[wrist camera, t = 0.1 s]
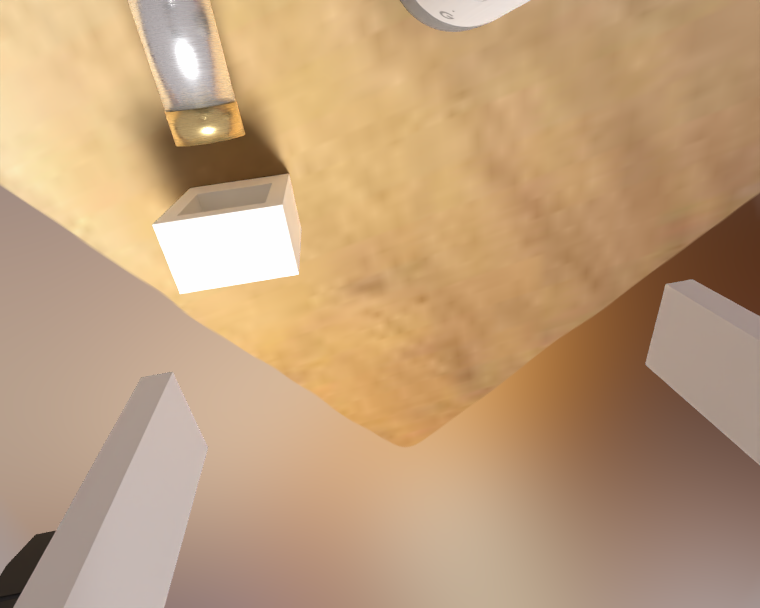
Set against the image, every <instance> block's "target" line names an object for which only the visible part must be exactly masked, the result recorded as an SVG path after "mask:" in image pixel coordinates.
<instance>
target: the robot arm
mask: <svg viewBox="0 0 760 608" xmlns="http://www.w3.org/2000/svg"><path fill="white" fill-rule="evenodd" d="M645 364H646V365H647V366H648V367H649V368H650V369H651V370H652V371H653V372H654V373H656V374H657V375H658V376H659V377H660V378H661V379H663V380H664V381H665V382H666V383H667V384H668V385H669V386H670V387H672V388H673V389H674V390H675V391H676V392H677V393H679V395H681V396H682V397H683V398H684V399H685V400H686V401H687V402H689V403H690V404H691V405H692V406H693V407H694V408H695V409H696V410H698V411H699V412H700V413H701V414H702V415H703V416H705V417H706V418H707V419H708V420H709V421H710V422H711V423H713V424H714V425H715V426H716V427H717V428H718V429H719V430H720V431H721V432H723V433H724V434H725V435H726V436H727V437H728V438H729V439H731V440H732V441H733V442H734V443H735V444H736V445H738V446H739V447H740V448H741V449H742V450H743V451H744V452H745V453H747V454H748V455H749V456H750V457H751V458H752V459H753V460H754V461H756V462H757V463H758V464H759V465H760V316H758V315H756V314H754V313H753V312H751V311H749V310H747V309H745V308H743V307H742V306H740V305H738V304H736V303H734V302H732V301H731V300H729V299H727V298H725V297H723V296H721V295H720V294H718V293H716V292H714V291H712V290H711V289H709V288H707V287H705V286H703V285H701V284H700V283H697V282H696V281H694V280H687V281H681V282H675V283H670V284H666V285H665V289H664V293H663V297H662V301H661V305H660V309H659V313H658V317H657V321H656V324H655V328H654V332H653V336H652V340H651V344H650V348H649V352H648V356H647V360H646V363H645ZM207 449H208V447H207V445H206V442H205V440H204V438H203V436H202V434H201V432H200V430H199V427H198V425H197V423H196V421H195V419H194V417H193V415H192V413H191V410H190V408H189V406H188V404H187V402H186V399H185V397H184V395H183V393H182V391H181V389H180V387H179V385H178V382H177V380H176V378H175V376H174V374H173V372H168V373H163V374H157V375H152V376H146V377H141V379H140V381H139V382H138V384H137V386H136V388H135V390H134V391H133V393H132V395H131V397H130V399H129V401H128V402H127V404H126V406H125V408H124V409H123V411H122V413H121V415H120V417H119V419H118V420H117V422H116V424H115V426H114V427H113V429H112V431H111V433H110V435H109V436H108V438H107V440H106V442H105V444H104V445H103V447H102V449H101V451H100V453H99V454H98V456H97V458H96V460H95V462H94V463H93V465H92V467H91V469H90V471H89V472H88V474H87V476H86V478H85V480H84V481H83V483H82V485H81V487H80V489H79V490H78V492H77V494H76V496H75V498H74V499H73V501H72V503H71V505H70V507H69V508H68V510H67V512H66V514H65V516H64V518H63V519H62V521H61V523H60V525H59V527H58V528H57V530H56V531H52V532H47V533H42V534H36V535H35V536H34V537H33V538H32V539H31V540H30V541H29V542H28V543H27V545H26V546H25V547H24V548H23V549H22V550H21V551H20V552H19V553H18V554H17V555H16V556H15V557H14V558H13V559H12V560H11V562H9V564H8V565H7V566H6V567H5V569H4V571H3V572H2V574H1V576H0V608H164V606H165V602H166V598H167V595H168V591H169V588H170V584H171V580H172V577H173V573H174V569H175V566H176V562H177V558H178V555H179V551H180V548H181V544H182V540H183V537H184V533H185V529H186V526H187V522H188V519H189V515H190V511H191V508H192V504H193V500H194V497H195V493H196V489H197V485H198V482H199V478H200V475H201V471H202V468H203V463H204V460H205V457H206V453H207Z"/></svg>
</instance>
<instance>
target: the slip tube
mask: <svg viewBox="0 0 760 608" xmlns="http://www.w3.org/2000/svg"><path fill="white" fill-rule="evenodd" d="M128 3H129V6H130V9H131V12H132V15H133V18H134V21H135V24H136V27H137V30H138V33H139V36H140V39H141V42H142V45H143V48H144V50H145V53H146V56H147V59H148V62H149V65H150V68H151V71H152V74H153V77H154V80H155V83H156V86H157V89H158V92H159V95H160V98H161V101H162V104H163V106H164V109H165V115H166V118H167V121H168V124H169V127H170V130H171V133H172V136H173V138H174V141H175V144H176V146H195V145H203V144H210V143H215V142H221V141H226V140H230V139H234V138H238V137H241V136H243V135H245V131H244V127H243V124H242V120H241V116H240V112H239V108H238V104H237V101H236V100H235V96H234V92H233V88H232V84H231V80H230V76H229V72H228V69H227V65H226V61H225V57H224V53H223V49H222V45H221V42H220V38H219V34H218V30H217V26H216V22H215V18H214V15H213V11H212V7H211V3H210V0H128Z"/></svg>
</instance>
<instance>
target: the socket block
mask: <svg viewBox="0 0 760 608" xmlns="http://www.w3.org/2000/svg"><path fill="white" fill-rule="evenodd" d="M152 226H153V228H154V231H155V233H156V236H157V238H158V241H159V243H160V245H161V248H162V250H163V253H164V255H165V258H166V260H167V263H168V265H169V268H170V270H171V273H172V275H173V278H174V280H175V283H176V285H177V288H178V290H179V293H180V294H183V293H189V292H195V291H201V290H207V289H213V288H219V287H226V286H232V285H238V284H244V283H250V282H256V281H262V280H268V279H274V278H280V277H286V276H292V275H299V262H300V246H301V225H300V221H299V216H298V211H297V207H296V202H295V198H294V193H293V189H292V184H291V179H290V175H289V173H288V174H282V175H275V176H268V177H261V178H255V179H248V180H241V181H234V182H227V183H221V184H214V185H207V186H200V187H194V188H190V189H189V190H187V191H186V192H185V193H184V194H183V195H182V196H181V197H180V198H179V199H178V200H177V201H176V202H175V203H174V204H173V205H172V206H171V207H170V208H169V209H168V210H167V211H166V212H165V213H164V214H163V215H162V216H161V217H160V218H159V219H157V220H156V221H155V222H154V223H153V224H152Z"/></svg>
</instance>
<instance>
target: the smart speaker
mask: <svg viewBox="0 0 760 608" xmlns="http://www.w3.org/2000/svg"><path fill="white" fill-rule="evenodd" d="M400 1H401V3H402V4H403V5H404V7H405V8H406V9H407V10H408V12H409V13H410V14H411V15H413V16H414V17H415V18H416V19H417V20H419V21H420V22H422V23H423V24H425V25H427V26H429V27H431V28H434V29H437V30H441V31H449V32H458V31H466V30H470V29H473V28H477V27H480V26H482V25H485V24H487V23H489V22H492V21H494V20H496V19H498V18H499V17H501V16H503V15H505V14H507V13H508V12H510V11H512V10H514V9H515V8H517V7H519V6H521V5H523V4H524V3H526V2H528V1H530V0H400Z"/></svg>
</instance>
